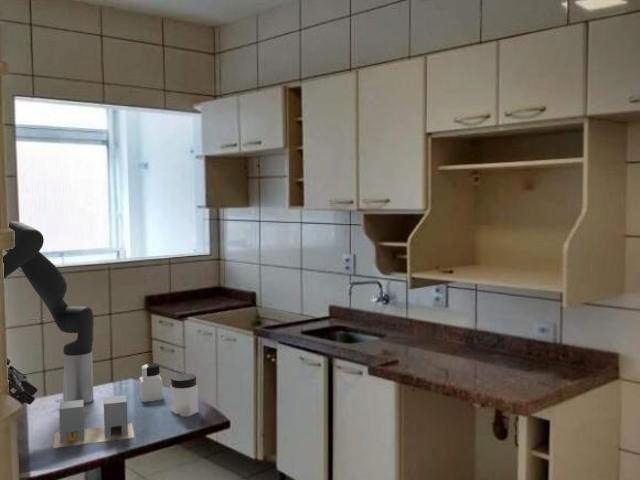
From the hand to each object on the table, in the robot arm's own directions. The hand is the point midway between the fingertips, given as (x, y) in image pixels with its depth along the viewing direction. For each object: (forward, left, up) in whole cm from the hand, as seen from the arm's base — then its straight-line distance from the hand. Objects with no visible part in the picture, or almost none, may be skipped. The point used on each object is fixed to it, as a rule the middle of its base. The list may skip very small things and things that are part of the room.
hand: (34, 397), depth 181 cm
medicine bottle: (0, +47, -14) cm, 49 cm away
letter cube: (+7, +7, -13) cm, 16 cm away
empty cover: (+15, +16, -13) cm, 26 cm away
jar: (+20, +41, -14) cm, 48 cm away
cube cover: (+7, +7, -13) cm, 16 cm away
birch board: (+11, +12, -14) cm, 21 cm away
